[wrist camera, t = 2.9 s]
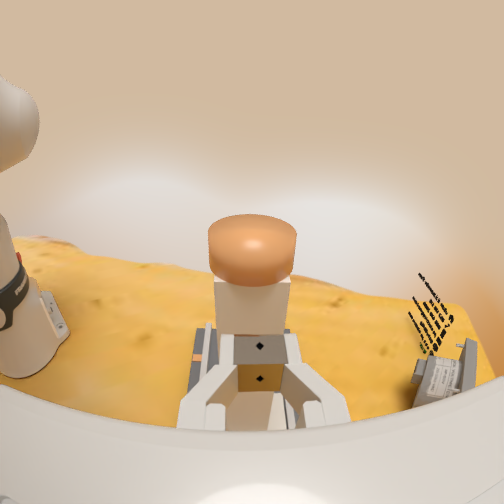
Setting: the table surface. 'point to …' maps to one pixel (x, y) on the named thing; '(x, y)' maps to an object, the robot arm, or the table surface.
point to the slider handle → (252, 299)
